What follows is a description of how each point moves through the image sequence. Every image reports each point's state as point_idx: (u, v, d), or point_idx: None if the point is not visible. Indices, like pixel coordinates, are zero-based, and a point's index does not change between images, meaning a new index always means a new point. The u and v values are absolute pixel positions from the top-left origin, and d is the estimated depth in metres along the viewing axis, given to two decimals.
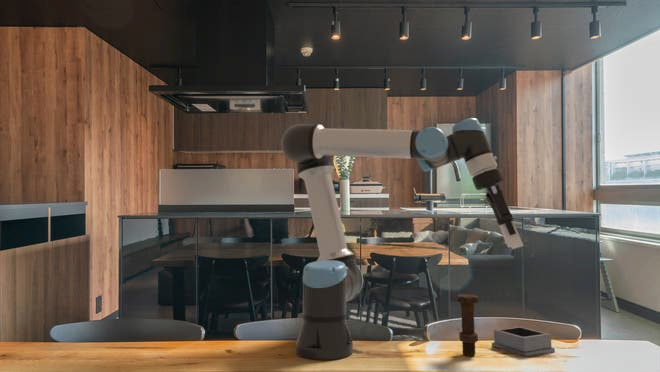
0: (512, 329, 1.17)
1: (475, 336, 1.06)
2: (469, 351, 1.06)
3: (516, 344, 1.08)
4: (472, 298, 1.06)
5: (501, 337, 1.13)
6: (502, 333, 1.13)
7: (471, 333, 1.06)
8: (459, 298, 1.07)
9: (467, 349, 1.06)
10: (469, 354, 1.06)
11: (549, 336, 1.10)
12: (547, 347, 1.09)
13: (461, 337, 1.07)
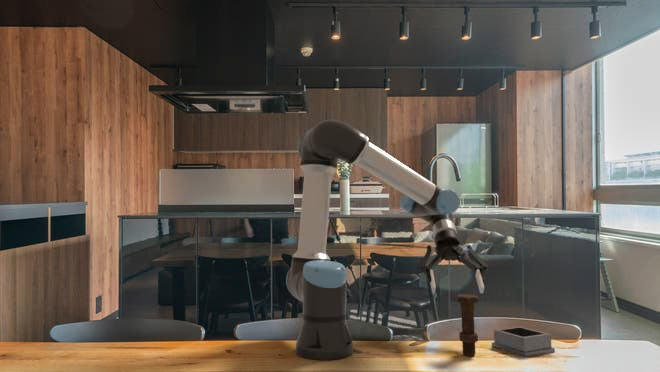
0: (512, 329, 1.17)
1: (475, 336, 1.06)
2: (469, 351, 1.06)
3: (516, 344, 1.08)
4: (472, 298, 1.06)
5: (501, 337, 1.13)
6: (502, 333, 1.13)
7: (471, 333, 1.06)
8: (459, 298, 1.07)
9: (467, 349, 1.06)
10: (469, 354, 1.06)
11: (549, 336, 1.10)
12: (547, 347, 1.09)
13: (461, 337, 1.07)
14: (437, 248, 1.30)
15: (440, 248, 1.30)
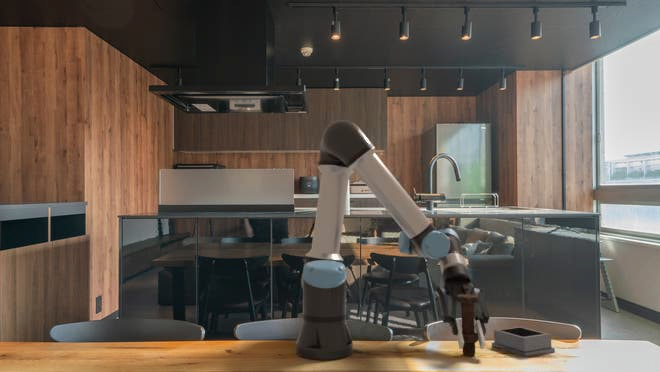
0: (512, 329, 1.17)
1: (475, 336, 1.06)
2: (469, 351, 1.06)
3: (516, 344, 1.08)
4: (472, 298, 1.06)
5: (501, 337, 1.13)
6: (502, 333, 1.13)
7: (471, 333, 1.06)
8: (459, 298, 1.07)
9: (467, 349, 1.06)
10: (469, 354, 1.06)
11: (549, 336, 1.10)
12: (547, 347, 1.09)
13: None
14: (447, 287, 1.17)
15: (449, 286, 1.17)
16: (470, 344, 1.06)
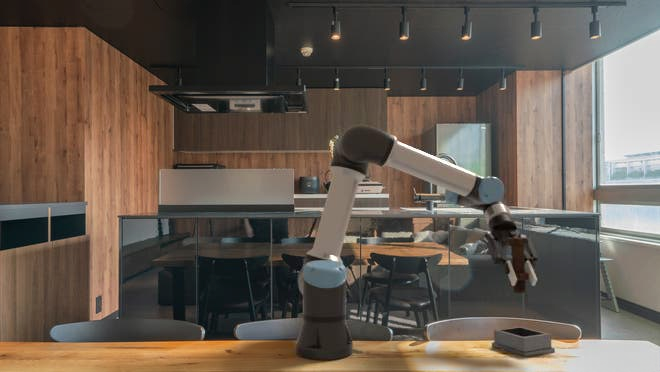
0: (512, 329, 1.17)
1: (526, 274, 1.13)
2: (520, 288, 1.13)
3: (516, 344, 1.08)
4: (523, 239, 1.13)
5: (501, 337, 1.13)
6: (502, 333, 1.13)
7: (522, 272, 1.13)
8: (510, 239, 1.14)
9: (518, 286, 1.13)
10: (520, 291, 1.13)
11: (549, 336, 1.10)
12: (547, 347, 1.09)
13: None
14: (495, 234, 1.23)
15: (497, 233, 1.24)
16: (521, 282, 1.13)
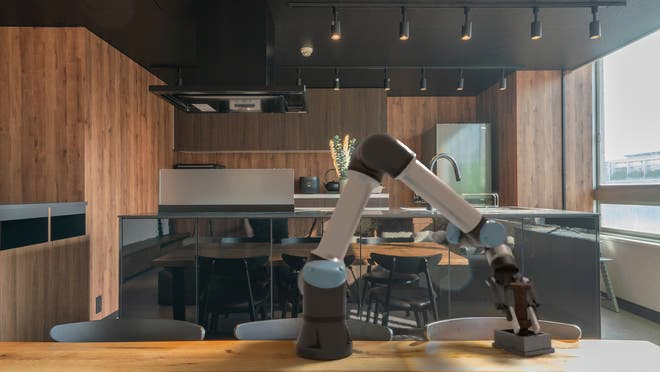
0: (512, 329, 1.17)
1: (529, 322, 1.11)
2: (523, 336, 1.11)
3: (516, 344, 1.08)
4: (525, 286, 1.12)
5: (501, 337, 1.13)
6: (502, 333, 1.13)
7: (525, 319, 1.12)
8: (513, 286, 1.13)
9: (521, 334, 1.12)
10: None
11: (549, 336, 1.10)
12: (547, 347, 1.09)
13: None
14: (496, 277, 1.22)
15: (499, 276, 1.22)
16: (524, 329, 1.12)
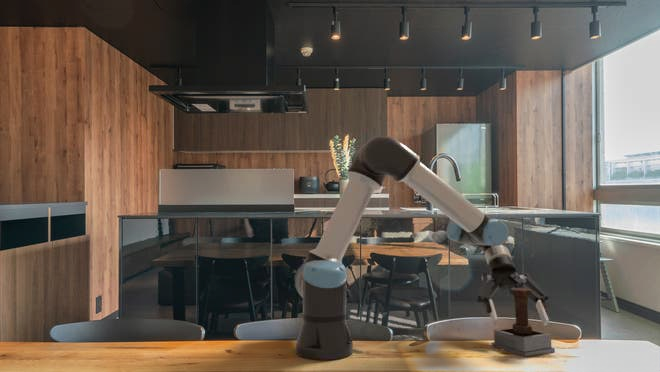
0: (512, 329, 1.17)
1: (530, 327, 1.11)
2: None
3: (516, 344, 1.08)
4: (527, 291, 1.12)
5: (501, 337, 1.13)
6: (502, 333, 1.13)
7: (526, 324, 1.12)
8: (514, 291, 1.13)
9: None
10: None
11: (549, 336, 1.10)
12: (547, 347, 1.09)
13: (516, 328, 1.12)
14: (493, 276, 1.26)
15: (496, 276, 1.26)
16: (525, 335, 1.11)
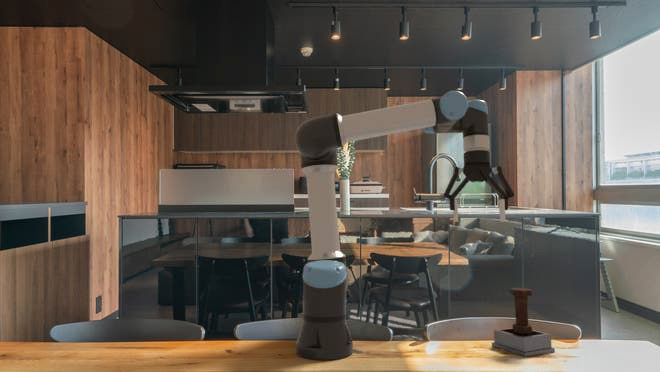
0: (512, 329, 1.17)
1: (530, 327, 1.11)
2: None
3: (516, 344, 1.08)
4: (527, 291, 1.12)
5: (501, 337, 1.13)
6: (502, 333, 1.13)
7: (526, 324, 1.12)
8: (514, 291, 1.13)
9: None
10: None
11: (549, 336, 1.10)
12: (547, 347, 1.09)
13: (516, 328, 1.12)
14: (465, 170, 1.25)
15: (468, 170, 1.24)
16: (525, 335, 1.11)
